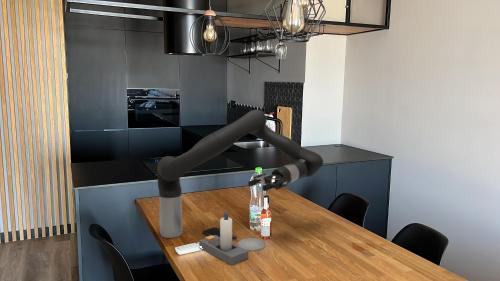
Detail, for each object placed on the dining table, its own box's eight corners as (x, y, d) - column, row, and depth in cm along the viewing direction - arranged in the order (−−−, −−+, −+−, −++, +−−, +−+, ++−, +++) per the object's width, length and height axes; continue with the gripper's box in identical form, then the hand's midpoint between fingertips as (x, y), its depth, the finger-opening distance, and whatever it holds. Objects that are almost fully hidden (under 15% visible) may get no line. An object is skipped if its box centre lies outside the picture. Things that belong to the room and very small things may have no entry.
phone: (215, 226, 175) (237, 236, 164) (215, 229, 176) (237, 239, 165) (200, 231, 170) (223, 242, 159) (201, 234, 170) (223, 244, 159)
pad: (232, 244, 159) (232, 243, 159) (252, 237, 166) (252, 235, 166) (250, 253, 151) (250, 252, 151) (271, 245, 158) (271, 244, 158)
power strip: (199, 247, 156) (199, 238, 155) (215, 241, 161) (215, 233, 161) (231, 265, 141) (231, 255, 141) (248, 258, 147) (248, 249, 146)
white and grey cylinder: (218, 254, 150) (217, 211, 147) (227, 251, 153) (227, 208, 150) (225, 258, 147) (225, 214, 144) (234, 254, 150) (234, 211, 147)
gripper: (273, 163, 168) (243, 174, 158) (297, 169, 157) (267, 180, 148) (274, 180, 170) (245, 191, 160) (298, 187, 159) (269, 199, 149)
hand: (255, 186), depth 154 cm, fingers open, 8 cm apart
